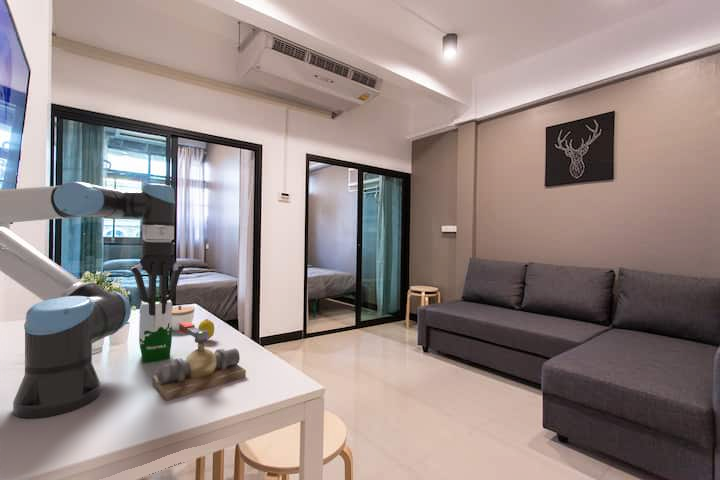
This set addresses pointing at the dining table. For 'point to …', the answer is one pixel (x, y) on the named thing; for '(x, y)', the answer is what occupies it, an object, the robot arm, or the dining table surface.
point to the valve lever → (194, 332)
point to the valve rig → (198, 372)
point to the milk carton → (155, 333)
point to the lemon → (207, 327)
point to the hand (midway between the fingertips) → (157, 326)
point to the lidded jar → (181, 316)
